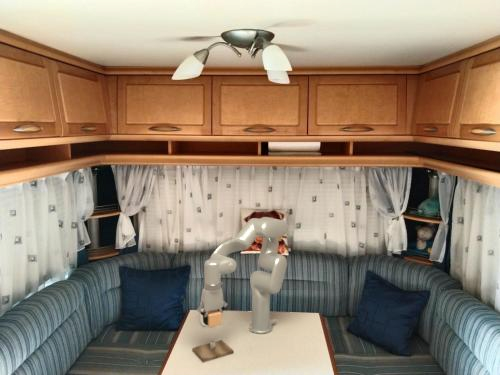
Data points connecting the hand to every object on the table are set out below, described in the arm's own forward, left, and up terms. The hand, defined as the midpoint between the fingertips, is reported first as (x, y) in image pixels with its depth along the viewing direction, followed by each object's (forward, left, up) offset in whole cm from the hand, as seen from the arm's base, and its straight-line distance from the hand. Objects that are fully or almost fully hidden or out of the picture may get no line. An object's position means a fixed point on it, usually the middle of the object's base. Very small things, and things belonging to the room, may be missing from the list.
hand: (212, 322), depth 211 cm
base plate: (0, 0, -15) cm, 15 cm away
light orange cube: (0, 0, -1) cm, 1 cm away
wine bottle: (-12, -28, -16) cm, 34 cm away
